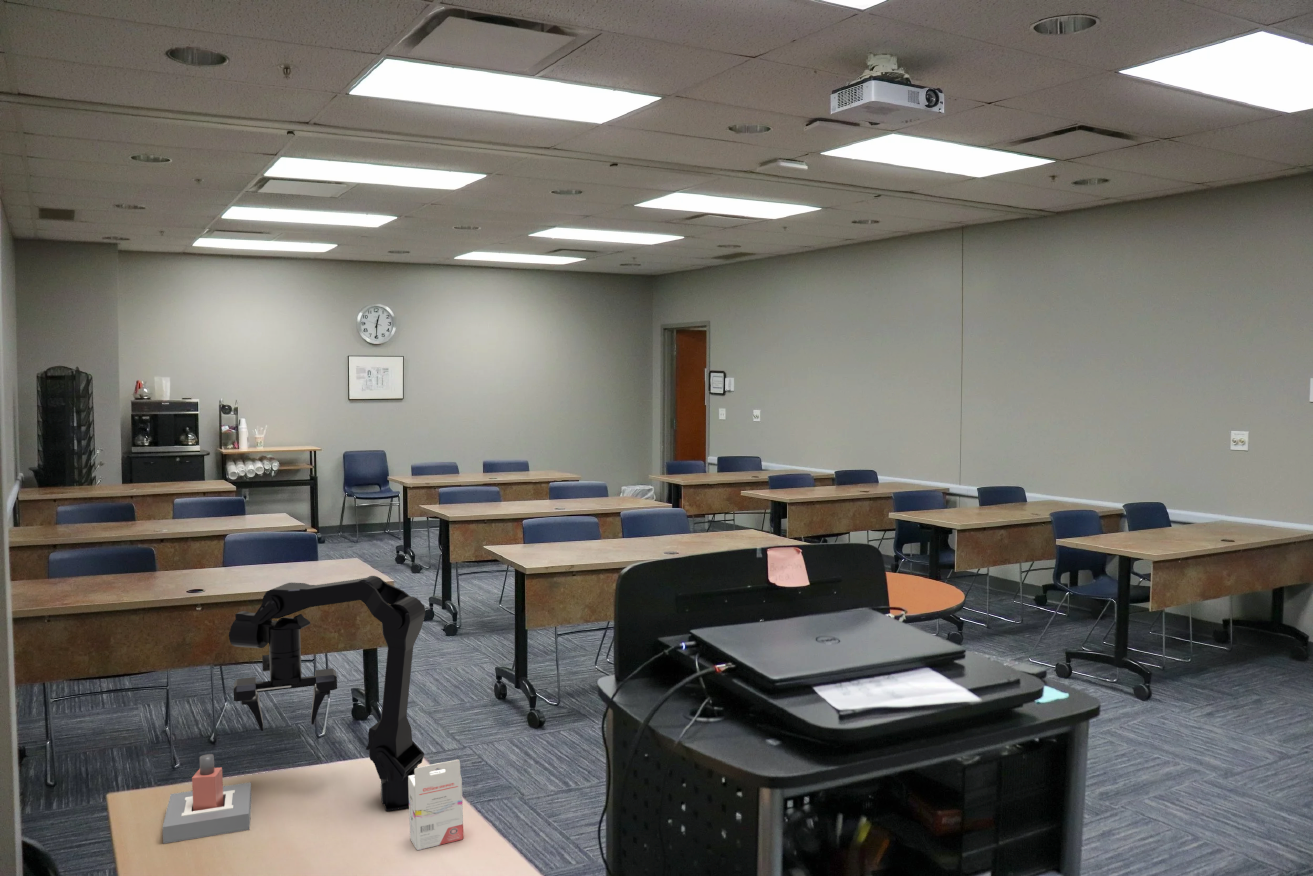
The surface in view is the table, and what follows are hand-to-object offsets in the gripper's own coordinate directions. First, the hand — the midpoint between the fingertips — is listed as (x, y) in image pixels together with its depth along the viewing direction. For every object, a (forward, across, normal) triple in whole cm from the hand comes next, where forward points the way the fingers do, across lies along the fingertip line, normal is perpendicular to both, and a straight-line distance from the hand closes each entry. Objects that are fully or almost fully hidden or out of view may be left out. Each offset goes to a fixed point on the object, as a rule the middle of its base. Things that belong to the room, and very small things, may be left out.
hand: (287, 727), depth 190 cm
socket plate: (+13, +14, +7) cm, 20 cm away
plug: (+13, +14, +7) cm, 20 cm away
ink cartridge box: (+13, -24, +30) cm, 41 cm away
